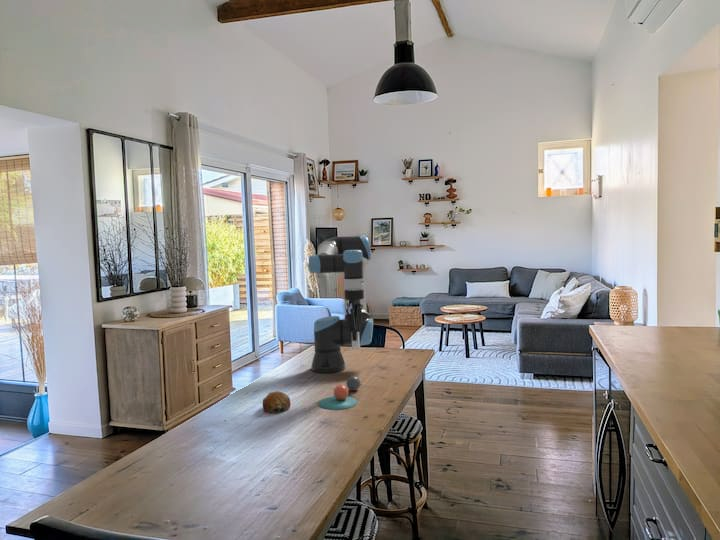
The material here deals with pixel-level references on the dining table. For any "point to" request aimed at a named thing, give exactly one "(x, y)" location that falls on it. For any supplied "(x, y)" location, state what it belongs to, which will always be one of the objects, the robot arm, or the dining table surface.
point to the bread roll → (276, 402)
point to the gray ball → (353, 383)
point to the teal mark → (337, 403)
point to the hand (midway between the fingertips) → (355, 348)
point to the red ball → (341, 392)
